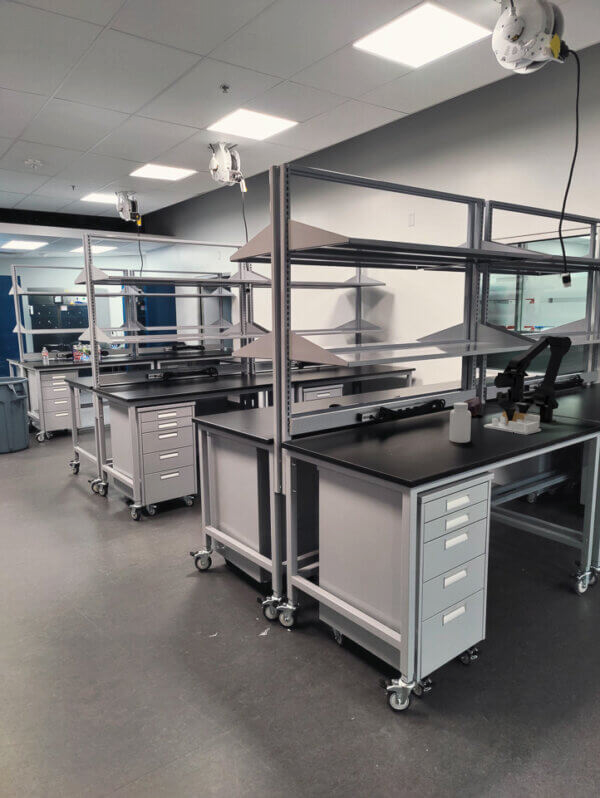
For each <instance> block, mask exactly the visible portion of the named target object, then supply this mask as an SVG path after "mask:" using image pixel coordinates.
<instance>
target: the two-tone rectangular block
mask: <svg viewBox="0 0 600 798" xmlns="http://www.w3.org/2000/svg"><path fill="white" fill-rule="evenodd" d="M501 417H507V415H506V412H505V411H503V412H502V415H501ZM517 419H521V420H523V423H524V420H529V421H535V422H539V423H540V422H541V421H540V416H539V414H538V415H537V414H530V413H526V414H523V413H519V412H516V411H515V413H514V417H513V420H512V421H514V422H517ZM507 423H509V421H508V418H507ZM538 428H540V425H539V426H538Z"/></svg>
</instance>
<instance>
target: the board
mask: <svg viewBox="0 0 600 798" xmlns="http://www.w3.org/2000/svg"><path fill="white" fill-rule="evenodd" d="M538 426H539V427H538ZM483 427H484V428H485V429H492V430H497V431H502V432H509V433H513V432H514V433H515V434H520V435H525V436H526V435H530V434H531V435H532V434H535V433H538V432H541V431H542V428H540V422H535V421H529V420H524V423H523V420H521V419H517V422H514V421H509V423H507V417H502V416H500V417H499V418H496V417H494V418H491V423H486V424H484V425H483Z"/></svg>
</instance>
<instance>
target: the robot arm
mask: <svg viewBox="0 0 600 798" xmlns="http://www.w3.org/2000/svg"><path fill="white" fill-rule="evenodd" d="M572 343H573V342H572V339H571V338H570V337H569V336H566V335H565V336H563V335H562V336H560V335H557V336H552V335H547V334H545V335H542V336H540V337H539V339H538V340H537V341H535V342H534V343H533V344H532V345H531V346H529V348H527V349H526V350H525V351H524V352H523V353H521V354H518V355H515V356H514V357H512V358H511V359H510V360H509V361H508V363H507V365H506V367H505V369H504V370H503V372H497V375H495V378H494V380H493V383H494V386H495V388H496V389H504V388H505V389H506V388H507V390H506V392H503V391H498V392H497V391H496V394H495V396H496V397H495V398H496V399H497V400H498V407H499V408H501V409H503V410H504V412H506V415H507V418H508V421H512V420H513V417H514V413H515V412H516V410H517V407H518V413H523V414H527V412H528V410H530V408H531V407H532V405H534V404H535V407H538V408H539V413H538V416H540V422H544V423H552V422H556V421H557V419H555V418H554V410H556V409H559V406H560V404H559V403H558V401H557V400H556V399H555V397H556V391H555V389H554V385H555V384H556V379H557V377H558V373H559V370H560V368H561V367H560V366H561V365H562V361H563V358H564V356H565V355H566V354H567V353H568V352H569V351H570V348H571V347H572ZM547 347H549V351H550V358H549V361H548V364H547V367H546V371H545V374H544V376H543V379H542V383H541V384H540V386H536V387H535V388H534V393H533V394H532V397H531V396H525V395H524V393H525V392H527V389H526V388H525V378H526V377H529V373H527V369H528V368H529V367H530V366H531V363H532V361H533V360H534V359H535V358H536V357H538V356H539V355H540V354H541V353H542V352H543V351H544V350H545V349H546V348H547ZM516 406H517V407H516Z"/></svg>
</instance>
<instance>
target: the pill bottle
mask: <svg viewBox="0 0 600 798" xmlns="http://www.w3.org/2000/svg"><path fill="white" fill-rule="evenodd" d="M467 409H468V404H467V403H463V402H460V401H459V402H458V401H457V402H455V403H453V409H452V410H450V413H449V437H448V438H449V441H451V442H452V443H453V442H454V443H460V444H461V443H462V444H463V443H465V444H466V443H469V442H470V441H471V429H472V427H471V426H472V416H471V412H470V411H469V410H467Z"/></svg>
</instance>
